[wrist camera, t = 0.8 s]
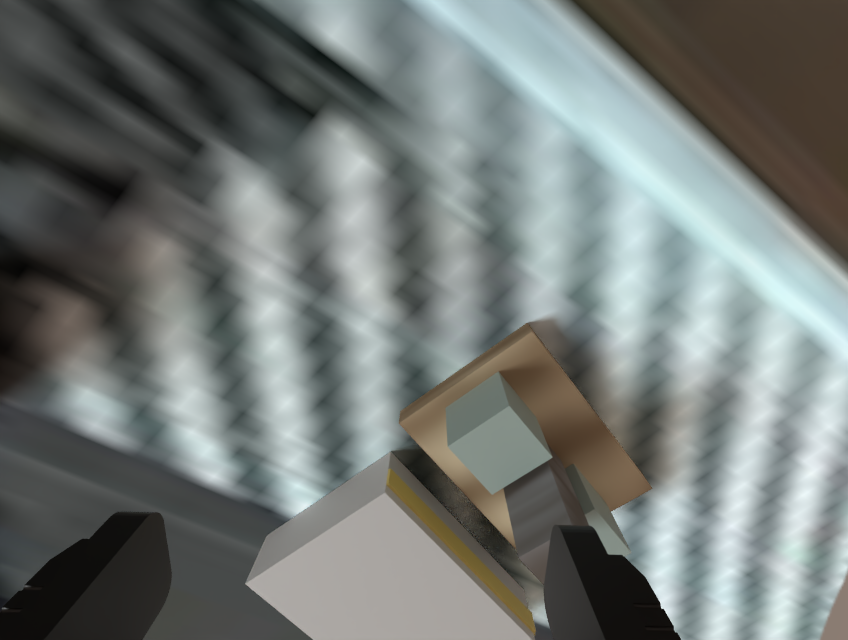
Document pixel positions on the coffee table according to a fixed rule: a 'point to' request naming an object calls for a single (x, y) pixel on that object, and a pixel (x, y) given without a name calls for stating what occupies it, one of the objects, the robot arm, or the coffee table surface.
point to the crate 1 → (495, 434)
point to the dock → (387, 568)
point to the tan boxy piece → (564, 433)
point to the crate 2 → (597, 513)
